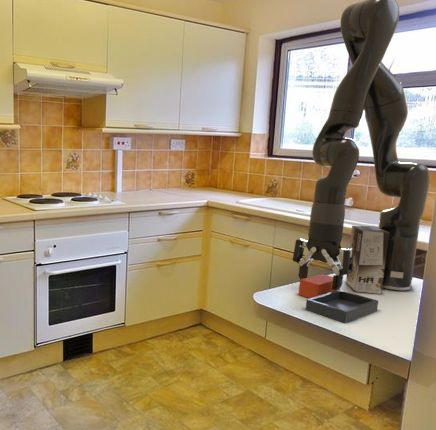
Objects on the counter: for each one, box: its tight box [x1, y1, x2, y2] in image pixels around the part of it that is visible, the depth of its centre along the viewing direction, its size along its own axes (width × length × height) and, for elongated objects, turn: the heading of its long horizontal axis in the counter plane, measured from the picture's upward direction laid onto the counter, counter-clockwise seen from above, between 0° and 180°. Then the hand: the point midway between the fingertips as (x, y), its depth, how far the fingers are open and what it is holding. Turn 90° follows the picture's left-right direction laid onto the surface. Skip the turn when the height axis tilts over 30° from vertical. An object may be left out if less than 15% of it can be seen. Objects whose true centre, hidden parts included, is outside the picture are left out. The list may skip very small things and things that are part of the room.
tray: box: [305, 289, 379, 324], centre depth 104 cm, size 14×9×2 cm, turn 126°
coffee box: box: [345, 225, 389, 295], centre depth 120 cm, size 9×6×16 cm
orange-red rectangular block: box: [298, 273, 341, 299], centre depth 114 cm, size 10×5×4 cm, turn 126°
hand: (318, 284), depth 114 cm, fingers open, 8 cm apart
